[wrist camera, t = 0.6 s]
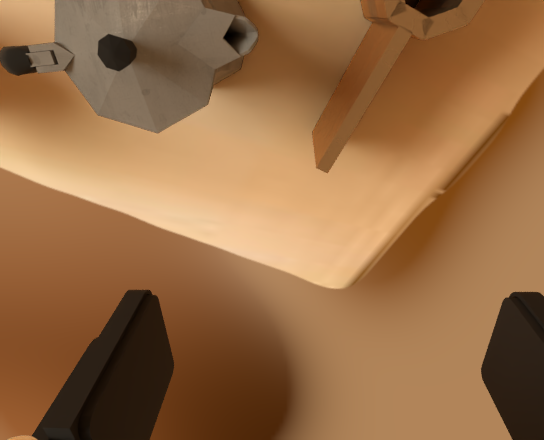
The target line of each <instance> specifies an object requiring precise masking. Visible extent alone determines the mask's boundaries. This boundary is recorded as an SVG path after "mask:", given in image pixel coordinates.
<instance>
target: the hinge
mask: <svg viewBox="0 0 544 440" xmlns="http://www.w3.org/2000/svg"><path fill="white" fill-rule="evenodd" d="M360 1H361V6H362V10H363V15H364V16H365V18H366V19H368V20H370V21H371V22H372V24H371V26H370V28H369V30H368V31H367V33H366V35H365V37H364V39H363V41H362V42H361V44H360V46H359V48H358V50H357V51H356V53H355V55H354V57H353V59H352V61H351V62H350V64H349V66H348V68H347V70H346V71H345V73H344V75H343V77H342V79H341V81H340V82H339V84H338V86H337V88H336V90H335V91H334V93H333V95H332V97H331V99H330V101H329V102H328V104H327V106H326V108H325V110H324V111H323V113H322V115H321V117H320V119H319V121H318V122H317V124H316V126H315V128H314V130H313V131H312V136H313V145H314V153H315V161H316V168H318V169H320V170H322V171H324V172H326V173H328V172H329V170H330V169H331V167H332V165H333V164H334V162H335V161H336V159H337V157H338V156H339V154H340V152H341V151H342V149H343V147H344V146H345V144H346V142H347V141H348V139H349V137H350V136H351V134H352V132H353V131H354V129H355V128H356V126H357V124H358V123H359V121H360V119H361V118H362V116H363V114H364V113H365V111H366V109H367V108H368V106H369V104H370V103H371V101H372V100H373V98H374V96H375V95H376V93H377V91H378V90H379V88H380V86H381V85H382V83H383V81H384V80H385V78H386V76H387V75H388V73H389V71H390V70H391V68H392V67H393V65H394V63H395V62H396V60H397V58H398V57H399V55H400V53H401V52H402V50H403V48H404V47H405V45H406V43H407V42H408V40H409V39H410V37H411V38H415V39H420V40H427V39H430V38H433V37H436V36H438V35H441V34H444V33H447V32H450V31H453V30H456V29H458V28H461V27H464V26H467V24H469V23H470V22H471V20H472V19H473V17H474V16H475V14H476V13H477V11H478V10H479V8H480V7H481V5H482V4H483V2H484V1H485V0H420V1H419V3H418V4H417V6H416V8H414V9H413V8H412V7H410V6H408V5H407V4H405V0H360Z"/></svg>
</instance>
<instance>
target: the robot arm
mask: <svg viewBox="0 0 544 440" xmlns="http://www.w3.org/2000/svg"><path fill="white" fill-rule="evenodd" d="M173 369H174V361H173V356H172V352H171V348H170V344H169V340H168V337H167V332H166V328H165V324H164V320H163V316H162V312H161V308H160V304H159V299H158V297H157V296H156V295H152V293H151V291H150V290H128V291H127V292H126V293H125V295H124V297H123V298H122V300H121V301H120V303H119V305H118V307H117V308H116V310H115V311H114V313H113V315H112V316H111V318H110V319H109V321H108V323H107V324H106V326H105V327H104V329H103V331H102V332H101V334H100V335H99V337H98V338H96V339H94V340H93V341H92V342H91V343H90V345H89V346H88V348H87V350H86V351H85V353H84V354H83V356H82V357H81V359H80V361H79V362H78V364H77V365H76V367H75V368H74V370H73V372H72V373H71V375H70V376H69V378H68V379H67V381H66V383H65V384H64V386H63V388H62V389H61V391H60V392H59V394H58V395H57V397H56V399H55V400H54V402H53V403H52V405H51V406H50V408H49V410H48V411H47V413H46V414H45V416H44V417H43V419H42V421H41V422H40V424H39V425H38V427H37V429H36V430H35V432H34V433H33V435H32V436H25V435H22V436H17V437H12V438H10V439H7V440H150V437H151V434H152V431H153V428H154V425H155V422H156V420H157V417H158V414H159V411H160V408H161V405H162V403H163V400H164V397H165V394H166V391H167V388H168V385H169V383H170V380H171V377H172V374H173ZM481 374H482V379H483V381H484V383H485V385H486V387H487V389H488V391H489V393H490V395H491V397H492V399H493V401H494V403H495V405H496V407H497V409H498V411H499V413H500V415H501V417H502V419H503V421H504V423H505V425H506V427H507V429H508V431H509V433H510V435H511V437H512V439H513V440H544V296H543V295H542V294H540V293H538V292H513V293H512V294H511V295H510V296H509V298H505V299H504V300H503V302H502V306H501V309H500V312H499V315H498V318H497V321H496V324H495V327H494V330H493V333H492V336H491V339H490V343H489V345H488V349H487V352H486V355H485V358H484V361H483V364H482V368H481Z"/></svg>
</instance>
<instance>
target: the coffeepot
mask: <svg viewBox="0 0 544 440" xmlns="http://www.w3.org/2000/svg"><path fill="white" fill-rule="evenodd" d="M257 41H258V30H257V27H256V26H255V25H254V24H253V23H252V22H251V21H250V20H249V19H247V18H246V17H245V15H244V13H243V10H242V8H241V6H240V5H239V3H238V1H237V0H55V42H54V43H44V44H36V45H29V46H11V47H3V48H2V50H1V51H0V62H1V64H2V66H3V67H4V68H5V69H6V70H7V71H8V72H9V73H12V74H14V75H22V74H28V73H35V72H38V73H47V72H56V71H64V70H65V72H66V73H67V74H68V76H69V77H70V78H71V80H72V81H73V82H74V84H75V85H76V86H77V88H78V89H79V90H80V92H81V93H82V94H83V96H84V97H85V99H86V100H87V101H88V103H89V104H90V105H91V107H92V108H93V109H94V111H95V112H96V113H97V115H99V116H102V117H105V118H109V119H112V120H115V121H119V122H122V123H125V124H128V125H132V126H135V127H138V128H142V129H145V130H148V131H151V132H155V133H159V132H161V131H163V130H164V129H166V128H168V127H170V126H171V125H173V124H175V123H177V122H178V121H180V120H182V119H184V118H185V117H187V116H189V115H191V114H192V113H194V112H196V111H198V110H200V109H201V108H203V107H205V106H207V105H208V103H209V99H210V96H211V92H212V89H213V85H214V84H216V83H218V82H219V81H221V80H223V79H224V78H226V77H228V76H230V75H231V74H233V73H235V72H236V71H238V70H240V69H241V65H242V61H243V57H244V55H246V54H248V53H250V52H251V51H252V49H253V48H254V46H255V45H256V43H257Z"/></svg>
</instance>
